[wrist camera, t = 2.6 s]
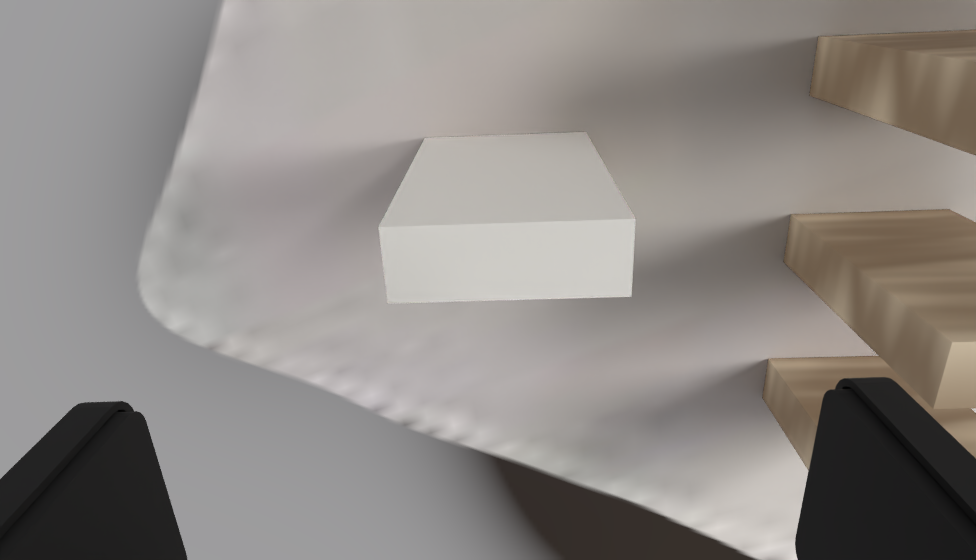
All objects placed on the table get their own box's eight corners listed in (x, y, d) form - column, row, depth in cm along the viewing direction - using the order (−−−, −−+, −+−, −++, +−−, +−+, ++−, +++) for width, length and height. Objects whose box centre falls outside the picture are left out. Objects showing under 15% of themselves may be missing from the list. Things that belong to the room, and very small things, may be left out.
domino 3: (768, 358, 28) (896, 537, 19) (911, 355, 28) (1110, 534, 19) (762, 397, 29) (882, 587, 20) (901, 394, 29) (1087, 585, 19)
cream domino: (425, 137, 24) (378, 227, 15) (586, 131, 24) (635, 218, 15) (429, 189, 25) (387, 303, 16) (584, 184, 25) (631, 296, 16)
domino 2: (790, 214, 25) (952, 342, 16) (948, 209, 25) (1202, 336, 16) (783, 262, 26) (932, 408, 17) (936, 257, 26) (1171, 403, 17)
